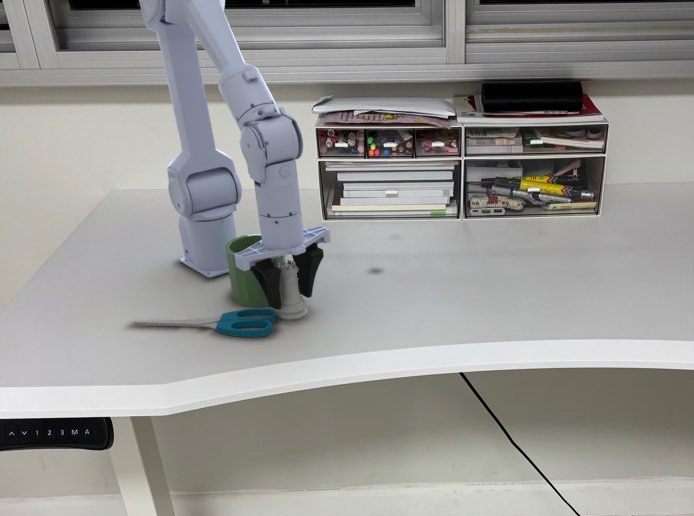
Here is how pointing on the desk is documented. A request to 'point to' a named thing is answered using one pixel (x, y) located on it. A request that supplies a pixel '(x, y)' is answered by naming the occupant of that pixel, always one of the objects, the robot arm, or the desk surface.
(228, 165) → the robot arm
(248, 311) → the scissors
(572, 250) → the desk surface
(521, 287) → the desk surface
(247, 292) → the planter
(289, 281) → the rook chess piece
